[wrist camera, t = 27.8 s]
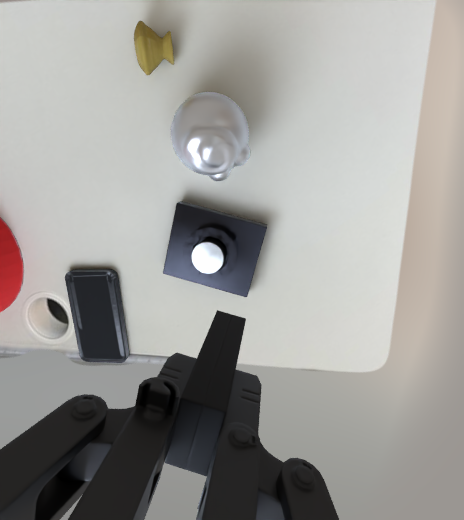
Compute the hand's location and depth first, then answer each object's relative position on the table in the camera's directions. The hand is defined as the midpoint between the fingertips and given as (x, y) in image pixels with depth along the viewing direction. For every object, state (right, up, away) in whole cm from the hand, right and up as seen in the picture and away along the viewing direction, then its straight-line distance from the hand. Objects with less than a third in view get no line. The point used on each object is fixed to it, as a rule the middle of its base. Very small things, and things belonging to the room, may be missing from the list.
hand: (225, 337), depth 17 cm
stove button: (-2, +5, +25) cm, 26 cm away
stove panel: (-2, +6, +28) cm, 29 cm away
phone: (-20, -5, +34) cm, 40 cm away
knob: (-8, +29, +23) cm, 38 cm away
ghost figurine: (-1, +19, +25) cm, 31 cm away
